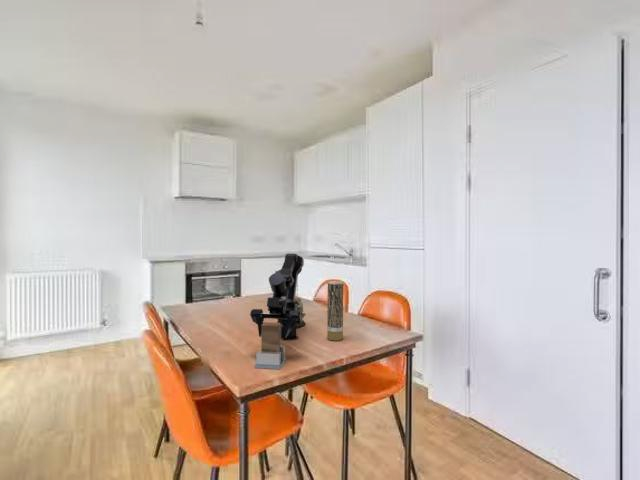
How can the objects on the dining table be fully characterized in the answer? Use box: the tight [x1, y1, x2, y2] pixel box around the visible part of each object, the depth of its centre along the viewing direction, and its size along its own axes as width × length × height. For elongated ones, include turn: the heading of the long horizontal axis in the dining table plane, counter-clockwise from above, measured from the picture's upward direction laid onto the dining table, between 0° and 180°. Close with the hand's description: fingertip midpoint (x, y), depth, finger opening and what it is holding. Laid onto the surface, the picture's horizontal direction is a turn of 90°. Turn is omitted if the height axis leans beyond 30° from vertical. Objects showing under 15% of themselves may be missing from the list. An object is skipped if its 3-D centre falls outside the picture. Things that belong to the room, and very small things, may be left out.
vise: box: [254, 344, 287, 370], centre depth 126 cm, size 14×9×5 cm, turn 174°
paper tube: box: [326, 280, 344, 342], centre depth 152 cm, size 7×7×25 cm
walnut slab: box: [260, 321, 282, 352], centre depth 124 cm, size 4×6×13 cm, turn 83°
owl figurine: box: [276, 296, 306, 330], centre depth 172 cm, size 18×12×17 cm, turn 131°
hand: (272, 337), depth 125 cm, fingers open, 9 cm apart
